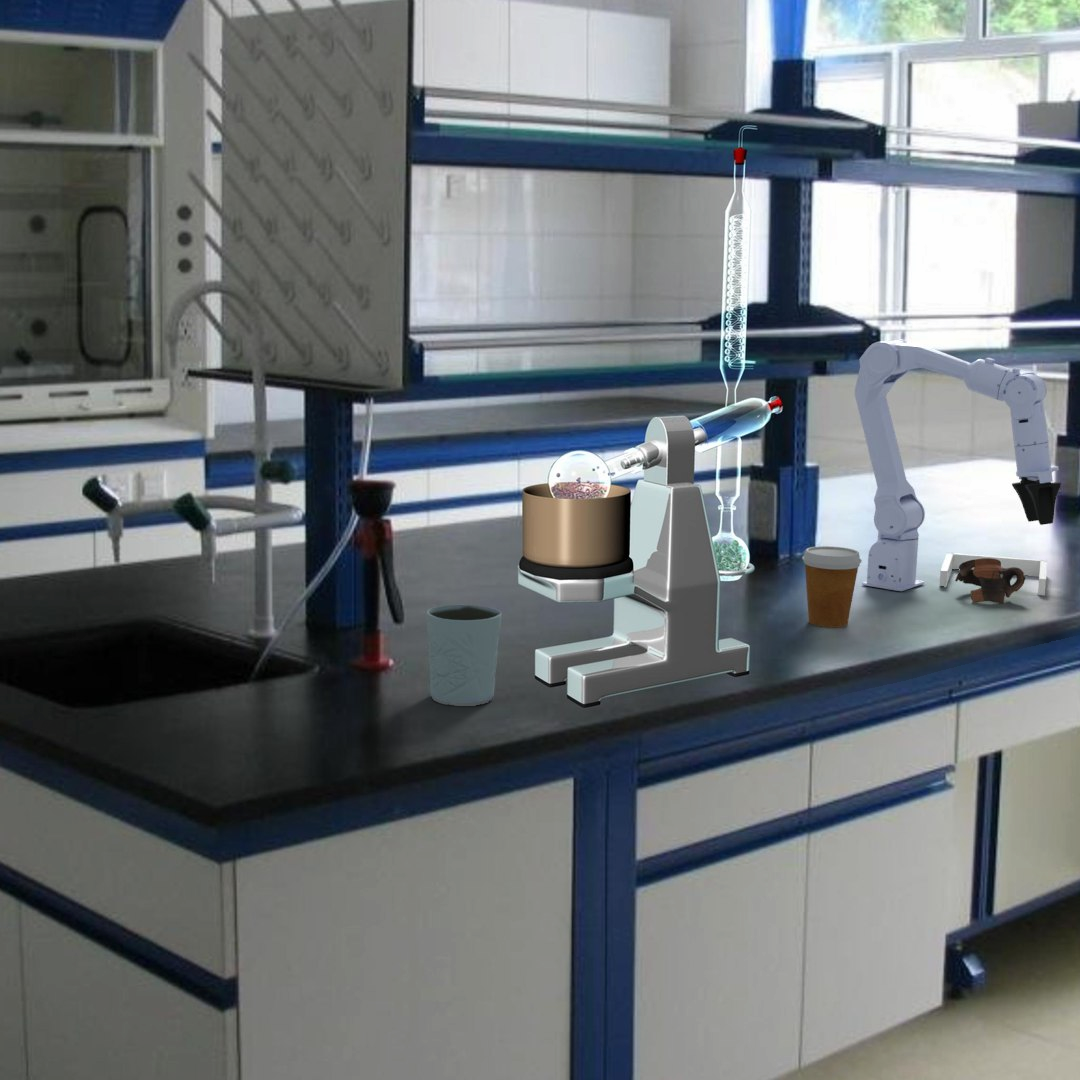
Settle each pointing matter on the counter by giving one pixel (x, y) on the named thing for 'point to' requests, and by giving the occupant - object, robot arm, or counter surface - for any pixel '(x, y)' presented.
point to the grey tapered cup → (463, 652)
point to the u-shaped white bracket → (1026, 565)
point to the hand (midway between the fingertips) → (1040, 522)
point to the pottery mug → (990, 579)
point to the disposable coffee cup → (830, 584)
